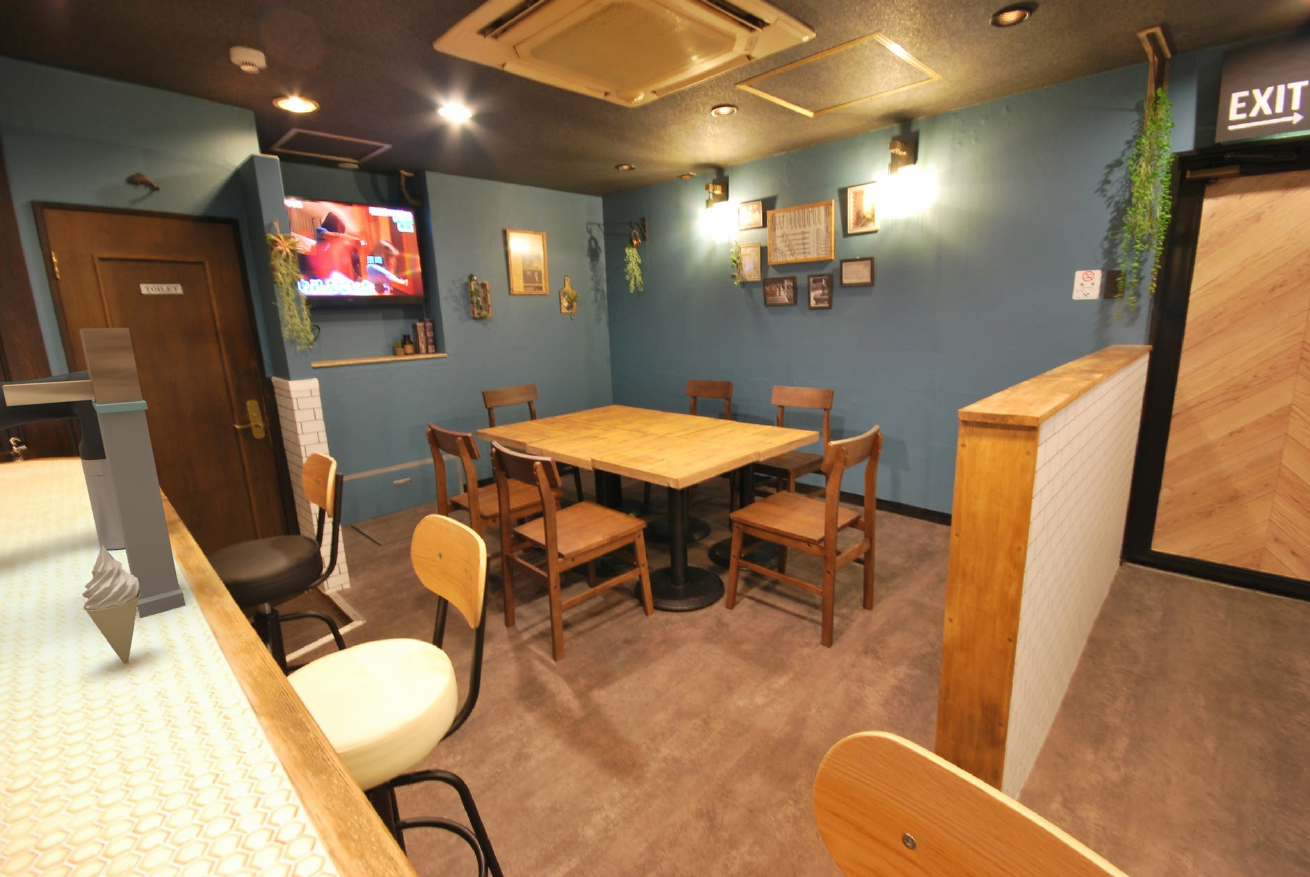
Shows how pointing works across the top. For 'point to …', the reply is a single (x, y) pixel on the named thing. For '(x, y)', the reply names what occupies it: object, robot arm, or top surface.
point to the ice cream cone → (113, 602)
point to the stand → (139, 505)
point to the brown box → (90, 374)
